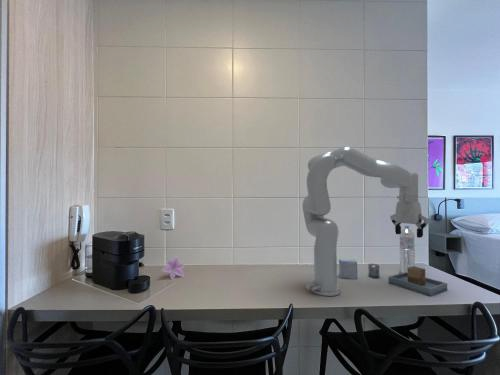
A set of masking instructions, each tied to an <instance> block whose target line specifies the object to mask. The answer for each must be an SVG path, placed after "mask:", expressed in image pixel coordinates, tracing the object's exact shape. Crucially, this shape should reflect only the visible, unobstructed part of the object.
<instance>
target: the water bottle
mask: <svg viewBox="0 0 500 375" xmlns="http://www.w3.org/2000/svg"><path fill="white" fill-rule="evenodd" d="M409 228H410V226H409V225H404V228H403V229H401V234H399V271H400V273H404V272H407V273H408V268H409V267H412V266H415V267H416V259H415V257H416V256H415V255H416V254H415V252H416V250H415V237H416V236H415V233H414V232H413V231H412V230H411V229H409Z"/></svg>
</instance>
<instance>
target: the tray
mask: <svg viewBox="0 0 500 375" xmlns="http://www.w3.org/2000/svg"><path fill="white" fill-rule="evenodd" d="M388 284H391V285H394V286H396V287H399V288H402V289H406V290H409V291H412V292H415V293H417V294H422V295H425V296H427V297H434V296H437V295H438V294H441V293H443V292H446V291H448V283H447V282H444V281H440V280H436V279H433V278H429V277H426V276H425V285H422V286H420V285H417V284H413V283H410V282H408V273H407V272H404V273H401V272H400V273H397V274H393V275H390V276H388Z"/></svg>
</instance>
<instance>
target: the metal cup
mask: <svg viewBox="0 0 500 375" xmlns="http://www.w3.org/2000/svg"><path fill="white" fill-rule="evenodd" d="M367 266H368V271H367V272H368V273H367V274H368V278H371V279H379V278H380V265H379V264H377V263H368V264H367Z"/></svg>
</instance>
